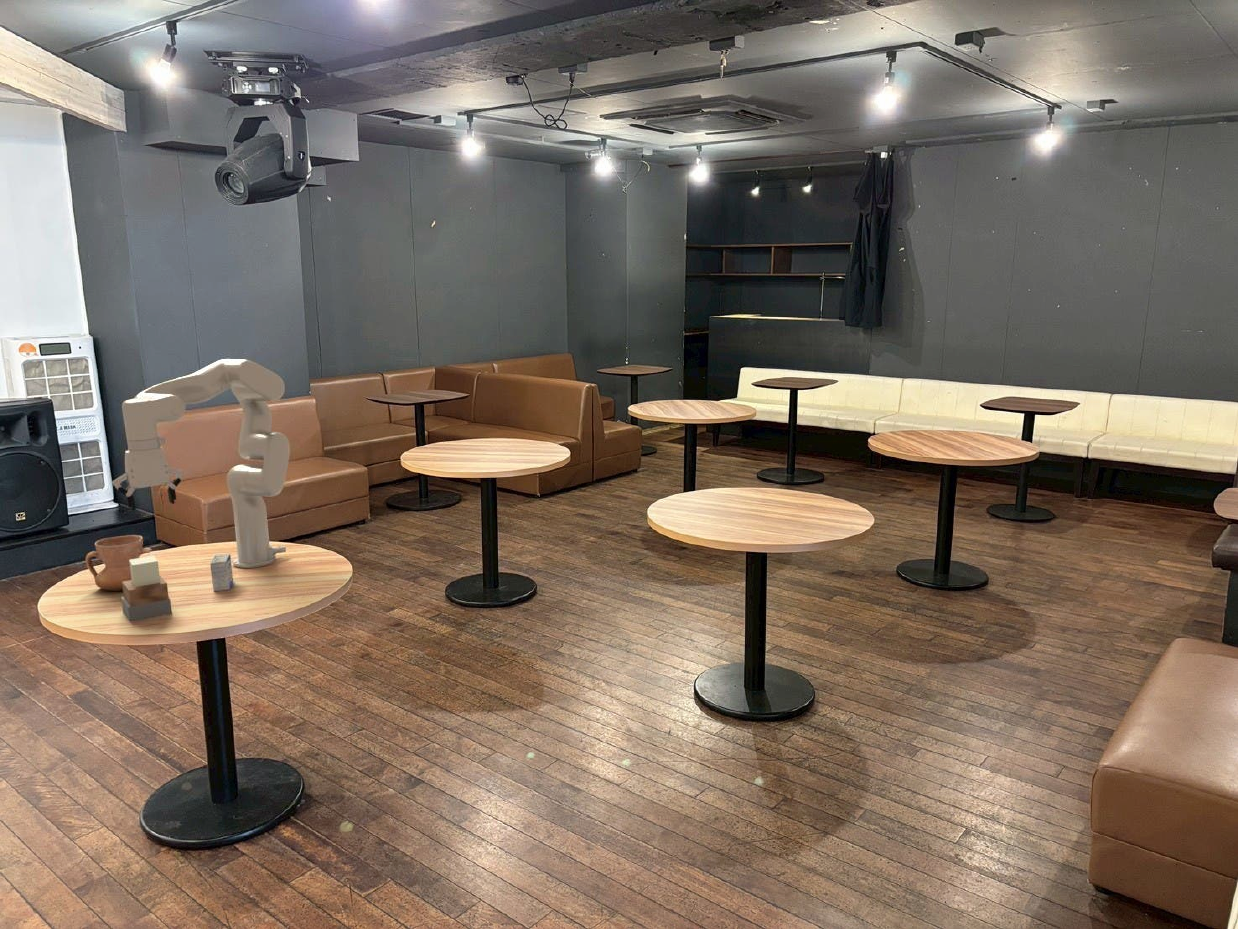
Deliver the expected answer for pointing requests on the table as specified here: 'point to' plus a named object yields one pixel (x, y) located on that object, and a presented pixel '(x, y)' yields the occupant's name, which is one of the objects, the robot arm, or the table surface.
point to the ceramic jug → (115, 560)
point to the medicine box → (221, 572)
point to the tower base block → (146, 610)
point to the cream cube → (144, 571)
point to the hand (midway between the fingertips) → (152, 506)
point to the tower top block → (145, 592)
